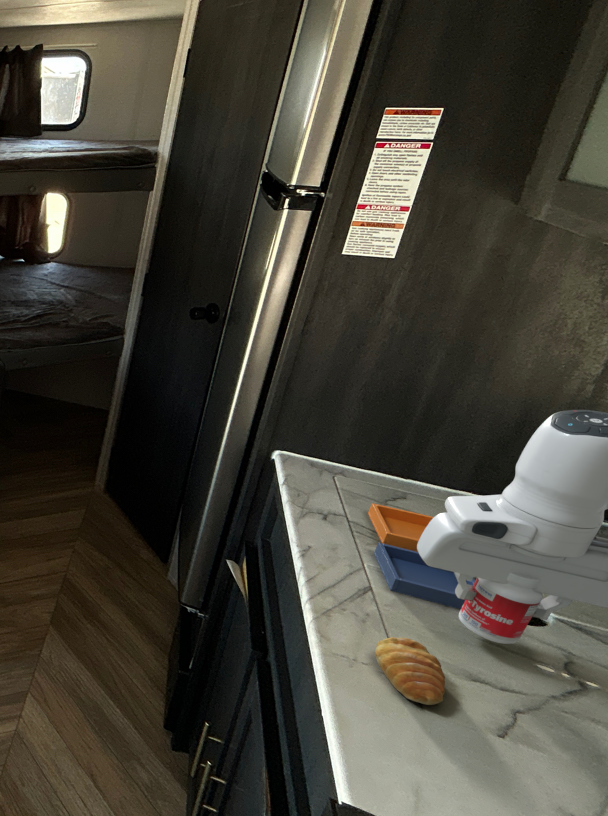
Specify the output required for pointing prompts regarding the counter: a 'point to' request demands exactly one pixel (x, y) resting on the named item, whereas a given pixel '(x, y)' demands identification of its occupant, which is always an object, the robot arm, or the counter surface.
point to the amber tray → (398, 526)
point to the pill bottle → (501, 608)
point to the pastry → (411, 669)
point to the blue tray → (417, 576)
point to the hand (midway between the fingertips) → (498, 606)
